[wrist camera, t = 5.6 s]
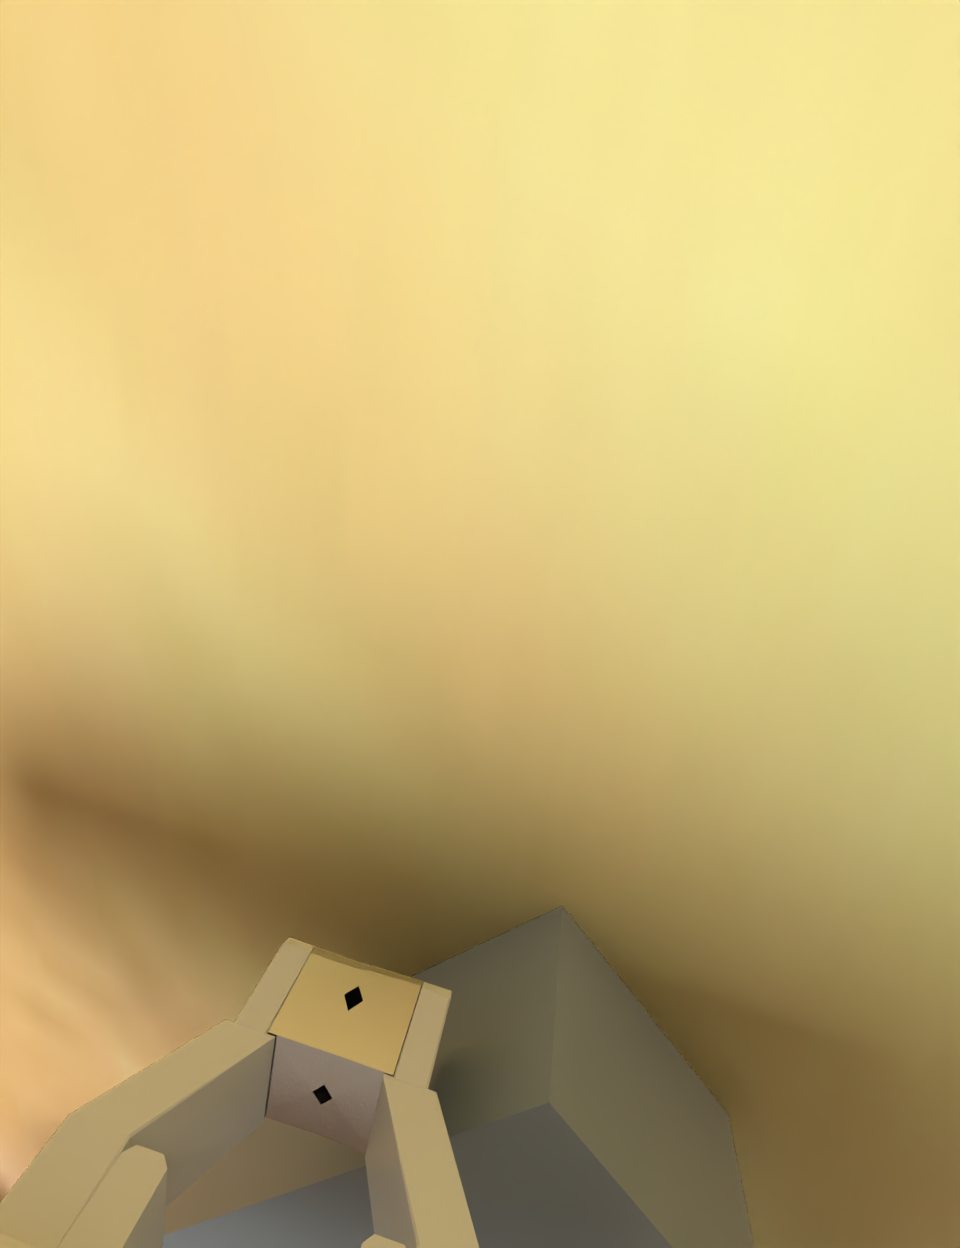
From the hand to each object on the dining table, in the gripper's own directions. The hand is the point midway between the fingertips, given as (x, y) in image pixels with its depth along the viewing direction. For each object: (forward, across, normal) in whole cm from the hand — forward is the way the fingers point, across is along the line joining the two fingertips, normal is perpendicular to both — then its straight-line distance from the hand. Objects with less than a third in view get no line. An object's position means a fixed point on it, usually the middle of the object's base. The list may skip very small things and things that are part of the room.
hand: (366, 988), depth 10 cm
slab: (+2, -2, +6) cm, 6 cm away
